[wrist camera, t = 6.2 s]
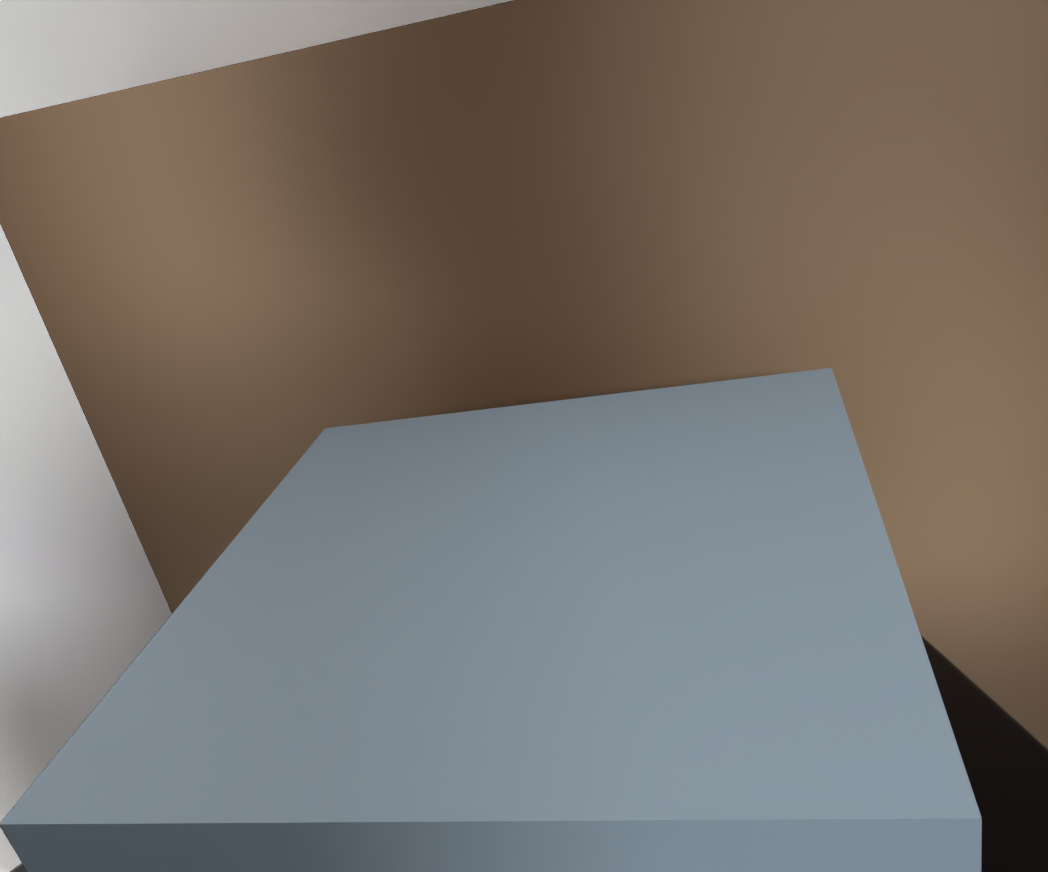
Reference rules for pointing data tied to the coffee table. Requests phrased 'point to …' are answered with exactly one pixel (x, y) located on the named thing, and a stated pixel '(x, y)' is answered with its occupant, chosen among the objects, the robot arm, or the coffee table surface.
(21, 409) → the coffee table surface
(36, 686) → the coffee table surface
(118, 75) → the coffee table surface
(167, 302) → the walnut plinth
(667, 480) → the slate block
